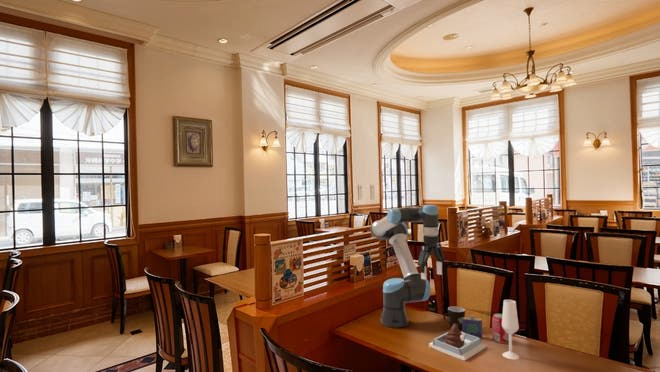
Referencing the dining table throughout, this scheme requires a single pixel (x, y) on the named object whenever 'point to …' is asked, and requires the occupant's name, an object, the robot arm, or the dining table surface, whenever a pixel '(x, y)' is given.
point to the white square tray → (463, 353)
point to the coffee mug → (456, 316)
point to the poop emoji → (455, 337)
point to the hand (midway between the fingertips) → (431, 276)
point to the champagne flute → (510, 325)
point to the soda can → (498, 329)
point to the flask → (472, 326)
